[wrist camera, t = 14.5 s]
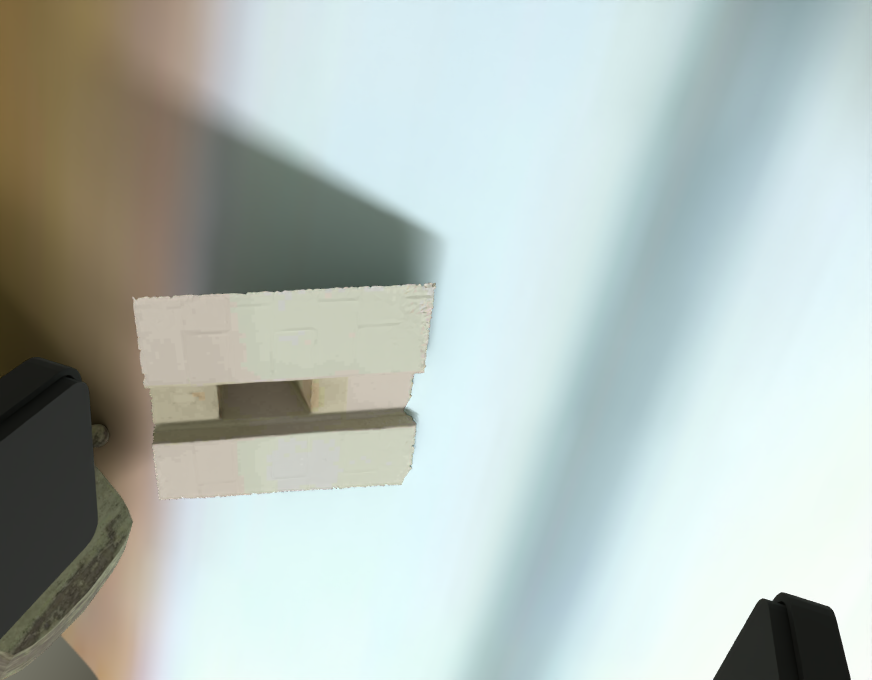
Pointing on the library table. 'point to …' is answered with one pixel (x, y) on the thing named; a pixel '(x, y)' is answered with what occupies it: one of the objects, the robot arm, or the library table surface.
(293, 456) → the wall
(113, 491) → the tabletop clock
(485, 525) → the library table surface
